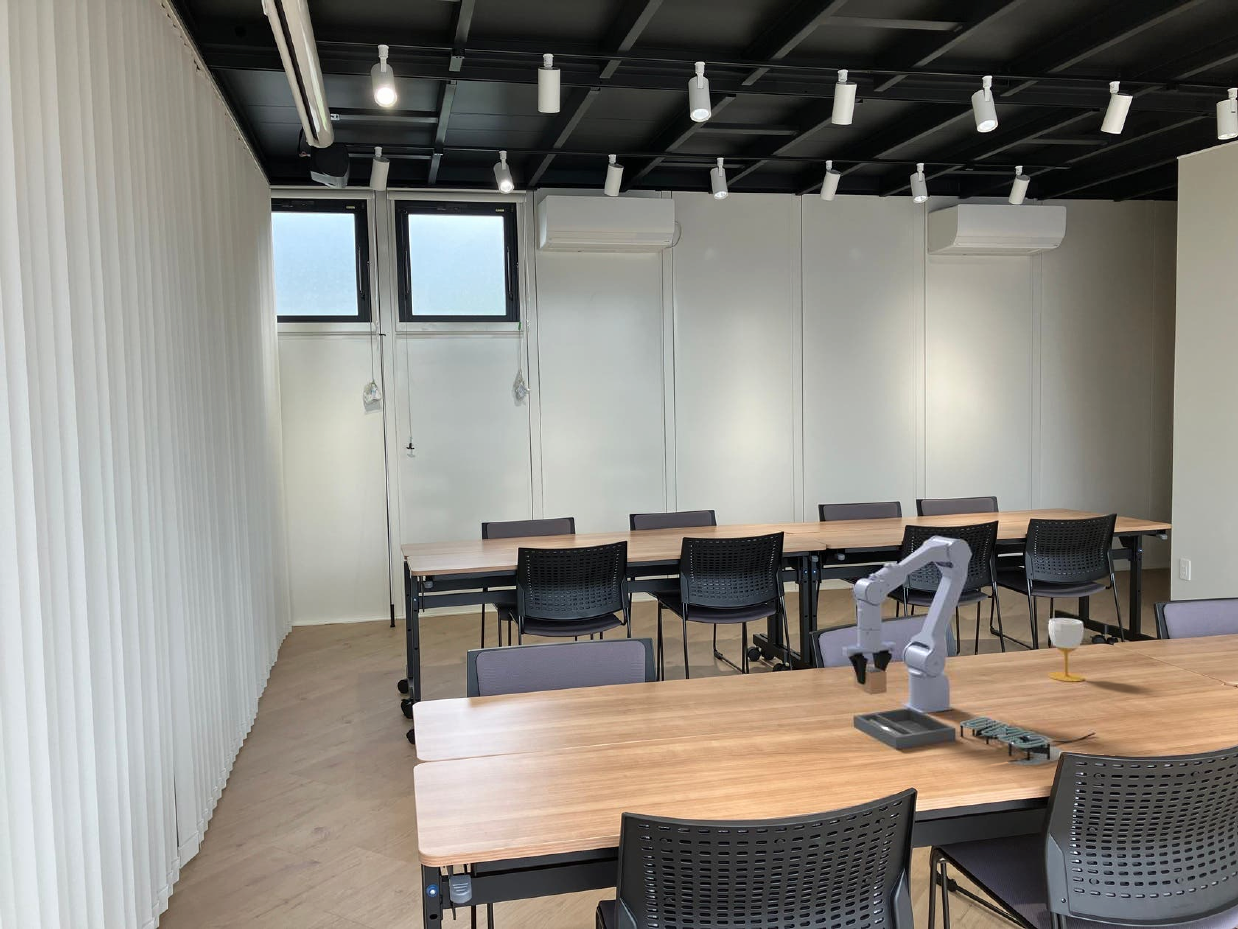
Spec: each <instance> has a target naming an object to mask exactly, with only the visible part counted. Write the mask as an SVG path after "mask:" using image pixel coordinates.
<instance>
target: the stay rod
mask: <svg viewBox="0 0 1238 929" xmlns="http://www.w3.org/2000/svg"><path fill="white" fill-rule="evenodd" d="M869 722H871V723H873V724H875V725H877V726H879V727H881V728H883V729H885V730H887V731H889V732H891V733H893V734H895V735H896V736H899V735H903V734H901V733H899V732H897V731H895V730H893V729H891V728H889V727H887V726H885V725H883V724H881V723H879V722H877V721H875V720H873V719H870V720H869Z"/></svg>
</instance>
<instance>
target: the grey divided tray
mask: <svg viewBox="0 0 1238 929" xmlns="http://www.w3.org/2000/svg"><path fill="white" fill-rule="evenodd" d="M870 719H873V720H875V721H877V722H879V723H881V724H883V725H885V726H887V727H889V728H891V729H893V730H895V731H897V732H899V733H901V734H903V735H899V736H896V735H895V734H893V733H891V732H889V731H887V730H885V729H883V728H881V727H879V726H877V725H875V724H873V723H871V722H869V720H870ZM853 728H855V729H857V730H859V731H860V732H862V733H864V734H866V735H867V736H870V737H871V738H874V739H875V740H877V741H879V742H881V743H882V744H885V745H886V746H888V747H890V748H892V749H894V750H904V749H909V748H915V747H916V748H917V747H922V746H927V745H929V746H930V745H934V744H940V743H947V742H951V741H956V733H957V732H956V728H955V727H953V726H951V725H950V724H947V723H944V722H942V721H940V720H938V719H936V718H934V717H931V716H930V715H927V714H926V713H920V712H918V711H916V710H914V709H912V708H908V707H904V708H898V709H890V710H885V711H878V712H871V713H864V714H858V715H853Z"/></svg>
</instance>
